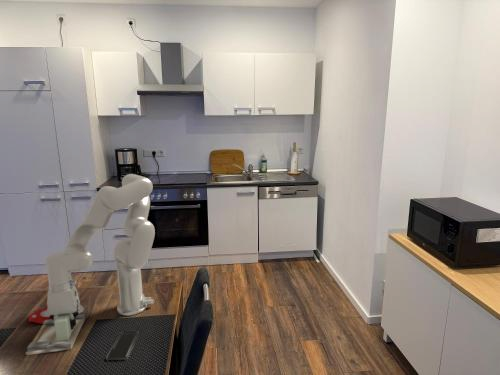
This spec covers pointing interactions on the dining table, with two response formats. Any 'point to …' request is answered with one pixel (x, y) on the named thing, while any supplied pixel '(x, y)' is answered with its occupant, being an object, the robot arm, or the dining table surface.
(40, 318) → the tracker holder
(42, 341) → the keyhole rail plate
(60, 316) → the sage panel block
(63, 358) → the dining table surface
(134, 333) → the phone
